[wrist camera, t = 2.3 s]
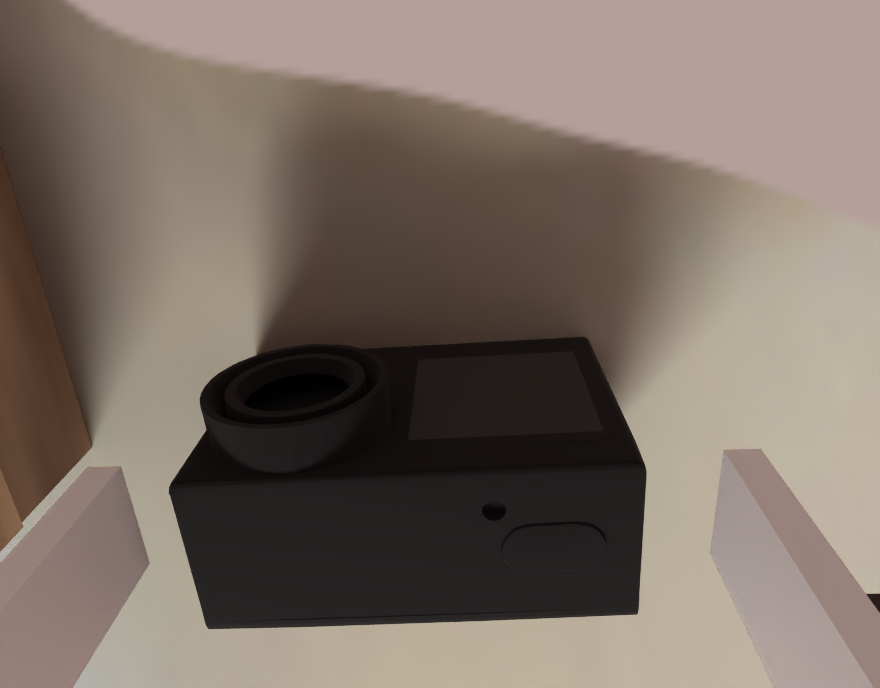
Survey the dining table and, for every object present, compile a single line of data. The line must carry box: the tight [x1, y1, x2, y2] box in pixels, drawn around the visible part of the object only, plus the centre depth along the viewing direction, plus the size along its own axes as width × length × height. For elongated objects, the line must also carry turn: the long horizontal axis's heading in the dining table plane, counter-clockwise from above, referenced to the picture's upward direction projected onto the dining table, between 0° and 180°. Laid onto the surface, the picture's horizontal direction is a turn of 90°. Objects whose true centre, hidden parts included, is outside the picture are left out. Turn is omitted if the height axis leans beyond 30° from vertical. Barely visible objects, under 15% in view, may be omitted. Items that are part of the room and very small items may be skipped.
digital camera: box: [169, 337, 647, 629], centre depth 18 cm, size 10×5×7 cm, turn 94°
